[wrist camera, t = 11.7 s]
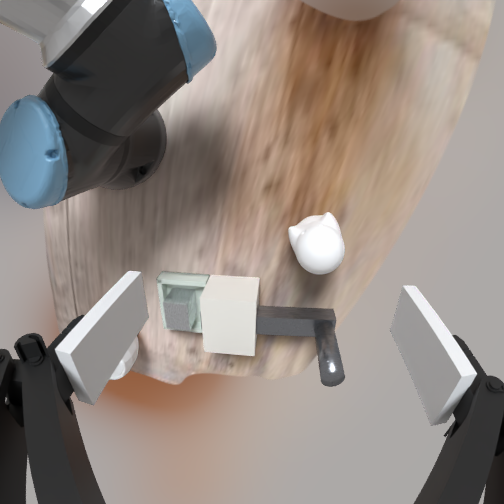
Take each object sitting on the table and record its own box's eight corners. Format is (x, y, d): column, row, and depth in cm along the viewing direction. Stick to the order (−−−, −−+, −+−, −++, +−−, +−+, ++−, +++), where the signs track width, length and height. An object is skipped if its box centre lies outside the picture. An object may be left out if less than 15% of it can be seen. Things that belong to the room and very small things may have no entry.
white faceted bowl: (88, 300, 53) (63, 326, 44) (140, 305, 52) (117, 336, 43) (104, 347, 58) (84, 375, 49) (152, 355, 57) (135, 387, 48)
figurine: (327, 201, 42) (344, 224, 31) (343, 246, 45) (362, 281, 34) (283, 218, 44) (284, 247, 33) (301, 262, 46) (307, 302, 35)
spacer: (197, 314, 51) (175, 312, 51) (195, 289, 49) (172, 287, 49) (190, 331, 46) (166, 328, 46) (187, 304, 44) (162, 302, 45)
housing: (213, 324, 52) (204, 351, 45) (210, 274, 48) (199, 298, 41) (257, 328, 52) (254, 356, 45) (259, 277, 48) (256, 302, 41)
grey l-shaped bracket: (205, 318, 48) (183, 377, 35) (204, 301, 47) (180, 359, 34) (330, 325, 47) (343, 386, 34) (333, 308, 46) (348, 369, 33)
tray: (168, 319, 53) (163, 328, 50) (162, 271, 49) (156, 278, 46) (212, 324, 52) (209, 333, 50) (209, 274, 48) (205, 282, 46)
